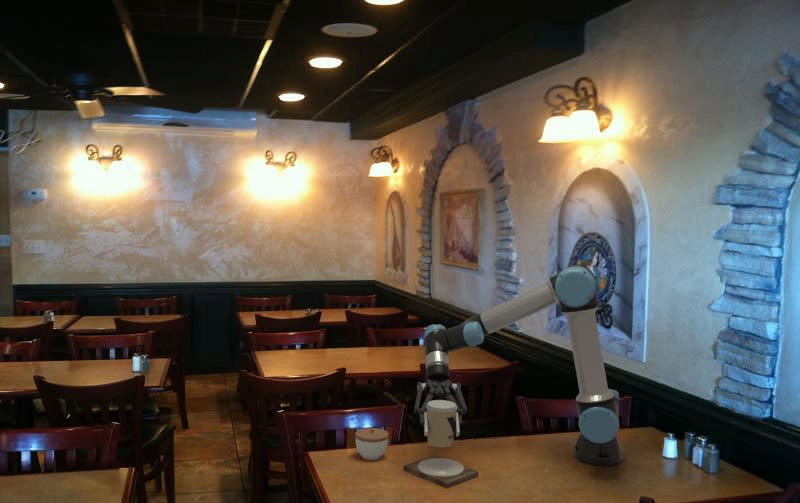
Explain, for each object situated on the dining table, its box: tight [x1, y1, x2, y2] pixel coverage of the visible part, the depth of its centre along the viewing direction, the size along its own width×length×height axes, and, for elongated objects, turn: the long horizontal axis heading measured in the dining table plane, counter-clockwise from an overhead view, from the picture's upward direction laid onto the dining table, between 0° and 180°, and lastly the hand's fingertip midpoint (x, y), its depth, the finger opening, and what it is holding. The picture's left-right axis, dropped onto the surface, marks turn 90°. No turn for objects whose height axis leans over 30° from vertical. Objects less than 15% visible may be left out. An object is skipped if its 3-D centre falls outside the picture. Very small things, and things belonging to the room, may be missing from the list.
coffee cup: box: [426, 399, 457, 448], centre depth 212 cm, size 9×9×12 cm
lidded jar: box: [354, 427, 389, 461], centre depth 225 cm, size 11×11×9 cm
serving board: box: [403, 454, 479, 489], centre depth 213 cm, size 18×14×2 cm
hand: (442, 434), depth 209 cm, fingers closed on coffee cup, 9 cm apart
